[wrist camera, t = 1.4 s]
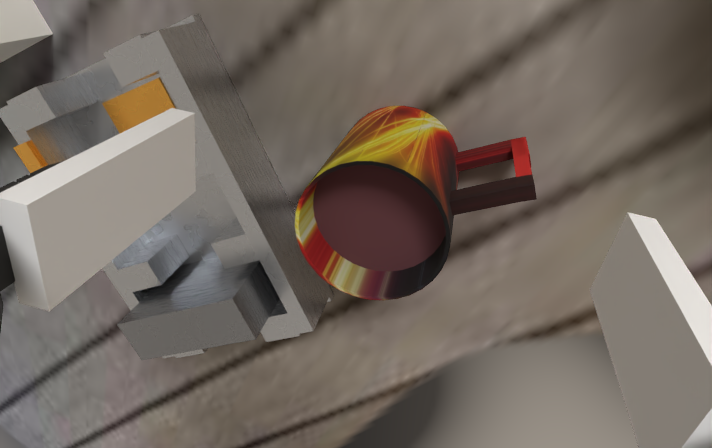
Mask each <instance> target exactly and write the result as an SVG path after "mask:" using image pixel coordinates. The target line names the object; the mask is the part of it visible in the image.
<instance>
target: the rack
mask: <svg viewBox="0 0 712 448" xmlns="http://www.w3.org/2000/svg"><path fill="white" fill-rule="evenodd" d="M103 55H104V56H105V59H103V60H101V61H99V62H96V63H94V64H92V65H90V66H88V67H86V68H84V69H82V70H80V71H78V72H76V73H74V74H72V75H70V76H68V77H66V78H64V79H61V80H57V81H54V82H50V83H47V84H44V85H40V86H37V87H34V88H33V89H31V90H29V91H27V92H25V93H23V94H21V95H19V96H17V97H15V98H13V99H11V100H9V101H7V104H8V105H7V106H5V107H3V108H1V109H0V118H1V119H2V121H3V122H4V124H5V125H6V127H7V128H8V129H9V131H10V132H11V134H12V135H13V137H14V138H15V140H16V141H17V143H18V144H19V145H18V146H16V147H14V150H15V151H16V153H17V154H18V156H19V157H20V158H21V160H22V161H23V163H24V164H25V166H26V167H27V169H28V170H29V172H30V173H32V172H34V171H36V170H38V169H40V168H42V167H45V166H47V165H50V164H54V163H58V162H62V161H65V160H67V159H69V158H71V157H74V156H76V155H78V154H80V153H82V152H84V151H86V150H88V149H90V148H92V147H94V146H96V145H98V144H100V143H102V142H104V141H106V140H108V139H110V138H112V137H114V136H116V135H118V134H120V133H122V132H124V131H126V130H128V129H130V128H132V127H134V126H136V125H138V124H140V123H142V122H144V121H146V120H149V119H151V118H153V117H155V116H157V115H159V114H161V113H163V112H165V111H167V110H169V109H171V108H175V109H179V110H183V111H188V112H192V113H195V173H196V191H195V192H194V193H193V194H192V195H191V196H189V197H188V198H187V199H186V200H185V201H183V202H182V203H181V204H180V205H178V206H177V207H176V208H175V209H174V210H172V211H171V212H170V213H169V214H167V215H166V216H165V217H164V218H163V219H161V220H160V221H159V222H158V223H157V224H155V225H154V226H153V227H152V228H150V229H149V230H148V231H147V232H146V233H144V234H143V235H142V236H141V237H139V238H138V239H137V240H136V241H135V242H133V243H132V244H131V245H130V246H129V247H127V248H126V249H125V250H124V251H122V252H121V253H120V254H119V255H118V256H116V257H115V258H114V259H113V260H111V261H110V262H109V263H108V264H107V265H105V266H104V267H103V268H102V269H103V270H104V272H105V273H106V275H107V276H108V278H109V279H110V281H111V282H112V284H113V285H114V287H115V288H116V290H117V291H118V292H119V294H120V295H121V297H122V298H123V300H124V301H125V303H126V304H127V306H128V307H129V309H130V310H131V311H130V312H129V313H128V314H127V315H126V316H125V317H124V318H123V319H122V320H121V321H120V322H119V323H118V324H117V325H118V327H119V328H120V329H121V331H122V332H123V334H124V335H125V337H126V338H127V340H128V341H129V342H130V344H131V345H132V347H133V348H134V350H135V351H136V352H137V354H138V355H139V357H140V358H141V360H146V359H151V358H157V357H162V358H168V357H174V356H175V357H176V358H180V357H186V356H191V355H197V354H202V353H205V352H206V350H207V349H208V348H211V347H217V346H222V345H227V344H233V343H238V342H244V341H249V340H255V339H256V338H257V336H258V335H259V333H260V332H261V334H262V336H263V337H264V339H265V341H266V342H269V341H275V340H280V339H286V338H291V337H297V336H300V334H301V333H305V332H311V331H314V329H315V327H316V324H317V322H318V320H319V318H320V316H321V314H322V311H323V309H324V307H325V305H326V303H327V302H329V301H331V300H332V298H333V296H334V294H333V292H332V290H331V288H330V286H329V284H328V283H327V282H326V281H325V280H324V279H323V278H321V277H320V276H319V275H318V274H317V273H316V272H315V271H314V270H313V268H312V267H311V266H310V265H309V264H308V262H307V260H306V259H305V257H304V255H303V254H302V252H301V250H300V247H299V244H298V241H297V238H296V231H295V213H294V211H293V209H292V207H291V205H290V203H289V200H288V198H287V196H286V194H285V192H284V190H283V188H282V186H281V184H280V182H279V180H278V178H277V176H276V173H275V171H274V169H273V167H272V165H271V163H270V161H269V159H268V157H267V155H266V153H265V151H264V148H263V146H262V144H261V142H260V140H259V138H258V136H257V134H256V132H255V130H254V128H253V126H252V123H251V121H250V119H249V117H248V115H247V113H246V111H245V109H244V107H243V105H242V103H241V101H240V98H239V96H238V94H237V92H236V90H235V88H234V86H233V84H232V82H231V80H230V78H229V76H228V73H227V71H226V69H225V67H224V65H223V63H222V61H221V59H220V57H219V55H218V53H217V51H216V48H215V46H214V44H213V42H212V40H211V38H210V36H209V34H208V32H207V30H206V28H205V26H204V23H203V21H202V19H201V17H200V15H199V14H195V15H192V16H190V17H187V18H185V19H183V20H181V21H179V22H177V23H175V24H173V25H171V26H169V27H167V28H165V29H161V30H158V31H154V32H150V33H145V34H141V35H138V36H136V37H134V38H132V39H130V40H128V41H126V42H124V43H122V44H120V45H118V46H116V47H114V48H112V49H110V50H108V51H106V52H104V53H103Z"/></svg>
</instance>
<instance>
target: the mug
mask: <svg viewBox="0 0 712 448" xmlns="http://www.w3.org/2000/svg"><path fill="white" fill-rule="evenodd" d="M510 159H514V166H515V173H516V177H514V178H509V179H504V180H500V181H495V182H491V183H486V184H482V185H477V186H472V187H468V188H463V189H459V190H457V184H458V176H459V171H463V170H467V169H471V168H476V167H480V166H484V165H489V164H493V163H497V162H502V161H506V160H510ZM535 199H536V193H535V185H534V180H533V176H532V171H531V161H530V154H529V150H528V145H527V141H526V137H522V138H516V139H511V140H507V141H503V142H499V143H495V144H491V145H487V146H483V147H479V148H475V149H471V150H466V151H462V152H458V150H457V146H456V144H455V142H454V140H453V137H452V136H451V134H450V133H449V131H448V130H447V129H446V127H445V126H444V125H443V124H442V123H441V122H439V121H438V120H437V119H436V118H435V117H433V116H431V115H430V114H428V113H427V112H424V111H422V110H419V109H416V108H412V107H407V106H389V107H384V108H380V109H377V110H375V111H373V112H371V113H368V114H367V115H366V116H364V117H363V118H362V119H360V120H359V121H358V122H357V123H356V124H355V125H354V127H353V128H352V129H351V130H350V131H349V133H348V134H347V135H346V137H345V138H344V139H343V140H342V142H341V143H340V144H339V146H338V147H337V148H336V150H335V151H334V152H333V153H332V155H331V156H330V157H329V159H328V160H327V161H326V163H325V164H324V165H323V166H322V168H321V169H320V170H319V172H318V173H317V174H316V176H315V177H314V178H313V179H312V181H311V182H310V183H309V185H308V186H307V187H306V189H305V190H304V192H303V194H302V196H301V198H300V199H299V202H298V206H297V209H296V213H295V231H296V238H297V241H298V244H299V247H300V250H301V252H302V254H303V255H304V257H305V259H306V260H307V262H308V264H309V265H310V266H311V267H312V268H313V270H314V271H315V272H316V273H317V274H318V275H319V276H320V277H321V278H323V279H324V280H325V281H326V282H327V283H329V284H330V285H332V286H334V287H335V288H337V289H339V290H340V291H343V292H345V293H348V294H350V295H352V296H356V297H360V298H364V299H370V300H391V299H398V298H402V297H405V296H409V295H411V294H413V293H415V292H417V291H419V290H421V289H423V288H424V287H425V286H427V285H428V284H429V283H430V282H432V281H433V280H434V278H435V277H436V276H437V275H438V274H439V272H440V271H441V270H442V268H443V266H444V264H445V262H446V260H447V256H448V252H449V248H450V242H451V234H452V226H453V218H454V215H457V214H461V213H466V212H471V211H476V210H481V209H486V208H491V207H496V206H501V205H506V204H511V203H516V202H522V201H528V200H535Z"/></svg>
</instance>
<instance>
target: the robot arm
mask: <svg viewBox="0 0 712 448" xmlns="http://www.w3.org/2000/svg"><path fill="white" fill-rule="evenodd" d="M195 191H196V173H195V113H192V112H188V111H183V110H179V109H175V108H171V109H169V110H167V111H165V112H163V113H161V114H159V115H157V116H155V117H153V118H151V119H149V120H146V121H144V122H142V123H140V124H138V125H136V126H134V127H132V128H130V129H128V130H126V131H124V132H122V133H120V134H118V135H116V136H114V137H112V138H110V139H108V140H106V141H104V142H102V143H100V144H98V145H96V146H94V147H92V148H90V149H88V150H86V151H84V152H82V153H80V154H78V155H76V156H74V157H71V158H69V159H67V160H65V161H62V162H58V163H54V164H50V165H47V166H45V167H42V168H40V169H38V170H36V171H34V172H32V173H30V175H26V176H24V177H22V178H20V179H18V180H17V182H11V183H9V184H7V185H5V186H3V187H1V188H0V291H2V290H3V289H5V288H6V287H7V286H9V285H10V284H12V283H13V282H14V284H15V288H16V292H17V296H18V300H19V303H21V304H25V305H28V306H32V307H35V308H38V309H42V310H45V311H51V310H52V309H53V308H54V307H55V306H57V305H58V304H59V303H60V302H62V301H63V300H64V299H65V298H66V297H68V296H69V295H70V294H71V293H73V292H74V291H75V290H76V289H77V288H79V287H80V286H81V285H82V284H83V283H85V282H86V281H87V280H88V279H90V278H91V277H92V276H93V275H94V274H96V273H97V272H98V271H99V270H101V269H102V268H103V267H104V266H105V265H107V264H108V263H109V262H110V261H111V260H113V259H114V258H115V257H116V256H118V255H119V254H120V253H121V252H122V251H124V250H125V249H126V248H127V247H129V246H130V245H131V244H132V243H133V242H135V241H136V240H137V239H138V238H139V237H141V236H142V235H143V234H144V233H146V232H147V231H148V230H149V229H150V228H152V227H153V226H154V225H155V224H157V223H158V222H159V221H160V220H161V219H163V218H164V217H165V216H166V215H167V214H169V213H170V212H171V211H172V210H174V209H175V208H176V207H177V206H178V205H180V204H181V203H182V202H183V201H185V200H186V199H187V198H188V197H189V196H191V195H192V194H193V193H194V192H195ZM590 292H591V296H592V299H593V302H594V305H595V309H596V312H597V315H598V318H599V321H600V325H601V328H602V331H603V334H604V338H605V341H606V344H607V347H608V350H609V354H610V357H611V360H612V363H613V367H614V369H615V373H616V376H617V380H618V383H619V386H620V389H621V392H622V395H623V399H624V402H625V405H626V408H627V412H628V415H629V418H630V421H631V425H632V428H633V431H634V434H635V438H636V441H637V444H638V447H639V448H712V306H711V304H710V303H709V301H708V300H707V298H706V296H705V295H704V293H703V292H702V290H701V289H700V287H699V286H698V284H697V282H696V281H695V279H694V278H693V276H692V275H691V273H690V271H689V270H688V268H687V267H686V265H685V264H684V262H683V261H682V259H681V257H680V256H679V254H678V253H677V251H676V250H675V248H674V247H673V245H672V243H671V242H670V240H669V239H668V237H667V236H666V234H665V233H664V231H663V229H662V228H661V226H660V225H659V223H658V222H657V220H656V219H654V218H650V217H645V216H641V215H637V214H632V213H628V212H627V214H626V216H625V218H624V220H623V223H622V225H621V227H620V229H619V231H618V233H617V235H616V237H615V239H614V241H613V243H612V245H611V247H610V249H609V251H608V253H607V255H606V257H605V259H604V261H603V263H602V265H601V268H600V270H599V272H598V274H597V276H596V278H595V280H594V282H593V284H592V286H591V288H590ZM2 313H3V301H2V298H1V294H0V332H1V322H2Z"/></svg>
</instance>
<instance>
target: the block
mask: <svg viewBox="0 0 712 448" xmlns="http://www.w3.org/2000/svg"><path fill="white" fill-rule="evenodd" d="M52 34H53V33H52V32H51V30H50V28H49V27H48V25H47V23H46V22H45V20H44V18H43V16H42V15H41V13H40V11H39V10H38V8H37V6H36V5H35V3H34V1H33V0H0V63H1V62H3V61H5V60H6V59H8V58H10V57H12V56H14V55H16V54H17V53H19V52H21V51H23V50H25V49H27V48H28V47H30V46H32V45H34V44H36V43H38V42H39V41H41V40H43V39H45V38H47V37H49V36H50V35H52Z"/></svg>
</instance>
